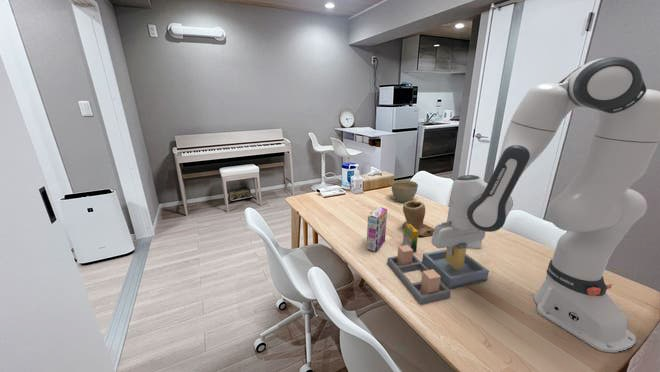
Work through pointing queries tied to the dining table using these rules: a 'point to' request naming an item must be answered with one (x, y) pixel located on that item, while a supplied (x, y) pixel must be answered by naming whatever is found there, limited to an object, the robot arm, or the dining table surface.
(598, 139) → the robot arm
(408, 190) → the planter bowl
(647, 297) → the dining table surface
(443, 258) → the tray
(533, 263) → the dining table surface
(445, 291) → the slot holder
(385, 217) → the candy bar box
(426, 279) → the block
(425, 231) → the brown clay vase
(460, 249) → the yellow box
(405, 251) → the block
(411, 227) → the crayon box
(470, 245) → the medicine bottle
